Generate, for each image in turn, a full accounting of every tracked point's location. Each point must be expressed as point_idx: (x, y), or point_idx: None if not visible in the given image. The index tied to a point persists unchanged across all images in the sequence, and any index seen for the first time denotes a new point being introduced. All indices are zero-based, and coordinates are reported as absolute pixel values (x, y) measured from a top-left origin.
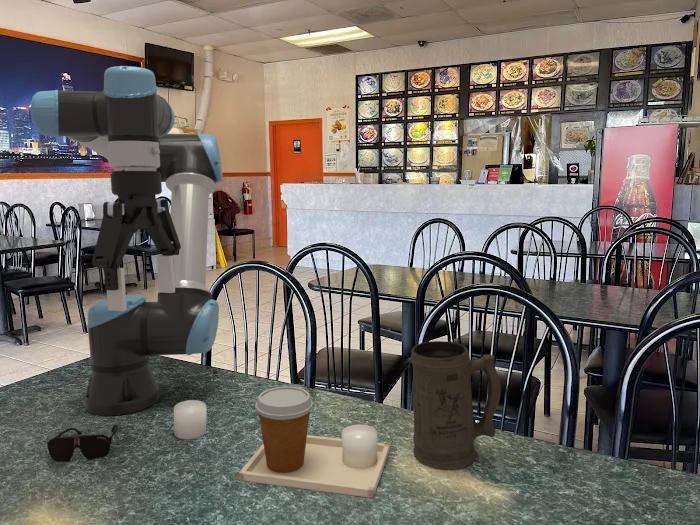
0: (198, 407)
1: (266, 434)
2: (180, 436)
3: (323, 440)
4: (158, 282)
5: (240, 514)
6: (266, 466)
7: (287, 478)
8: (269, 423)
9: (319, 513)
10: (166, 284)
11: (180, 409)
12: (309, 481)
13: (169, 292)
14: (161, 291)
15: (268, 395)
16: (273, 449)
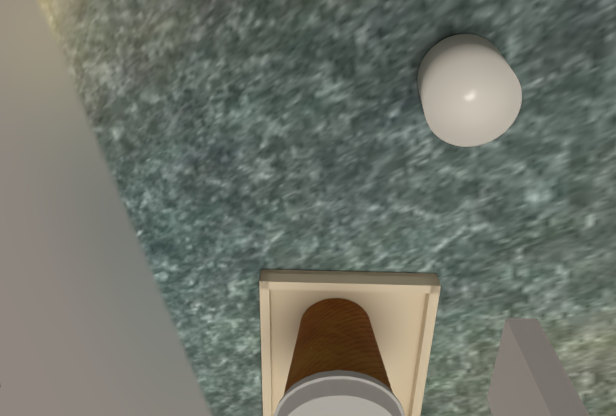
0: (477, 124)
1: (293, 362)
2: (418, 72)
3: (417, 372)
4: (531, 371)
5: (177, 301)
6: (317, 300)
7: (263, 356)
8: (284, 392)
9: (217, 393)
10: (513, 412)
11: (454, 83)
12: (264, 386)
13: (492, 382)
14: (503, 339)
15: (347, 405)
16: (293, 352)
